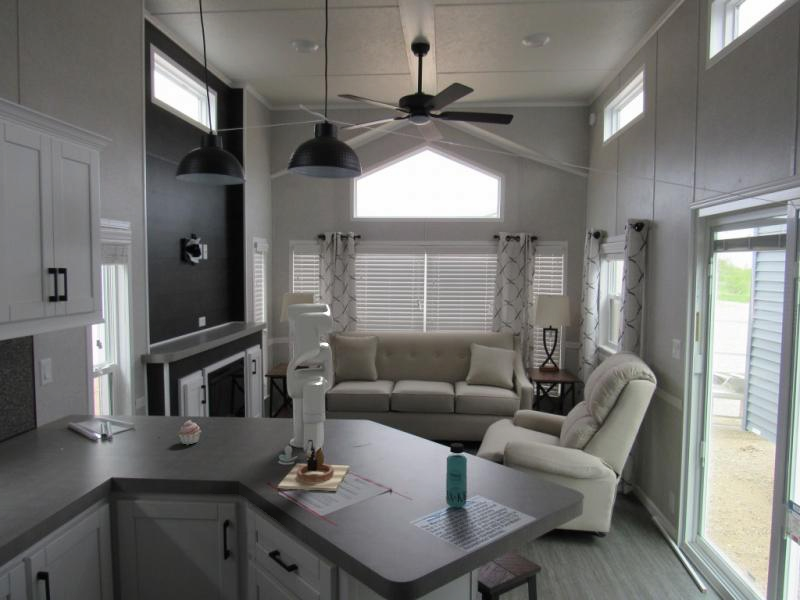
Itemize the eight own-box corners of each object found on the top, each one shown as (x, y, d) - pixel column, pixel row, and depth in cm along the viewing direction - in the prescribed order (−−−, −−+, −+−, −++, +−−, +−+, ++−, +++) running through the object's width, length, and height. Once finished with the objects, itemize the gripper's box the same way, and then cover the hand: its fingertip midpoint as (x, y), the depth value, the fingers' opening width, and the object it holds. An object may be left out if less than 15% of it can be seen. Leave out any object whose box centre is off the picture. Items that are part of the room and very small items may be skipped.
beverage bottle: (444, 503, 170) (444, 441, 168) (465, 502, 170) (465, 440, 169) (447, 512, 163) (447, 448, 162) (469, 511, 164) (469, 447, 162)
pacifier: (292, 466, 202) (299, 460, 208) (292, 450, 202) (299, 444, 207) (275, 465, 204) (282, 458, 210) (274, 449, 203) (281, 443, 209)
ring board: (297, 466, 201) (296, 458, 201) (349, 468, 199) (349, 460, 198) (278, 488, 182) (278, 479, 181) (336, 491, 179) (336, 482, 179)
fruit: (309, 474, 186) (309, 451, 185) (304, 468, 191) (303, 446, 191) (326, 471, 189) (326, 448, 188) (320, 465, 194) (320, 443, 194)
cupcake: (206, 441, 231) (205, 418, 230) (187, 448, 223) (186, 424, 222) (192, 438, 236) (191, 415, 235) (173, 444, 228) (172, 420, 227)
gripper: (311, 409, 198) (312, 457, 199) (296, 423, 181) (297, 475, 182) (331, 410, 197) (331, 458, 198) (317, 424, 180) (318, 476, 181)
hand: (315, 466), depth 190 cm, fingers closed on fruit, 6 cm apart
